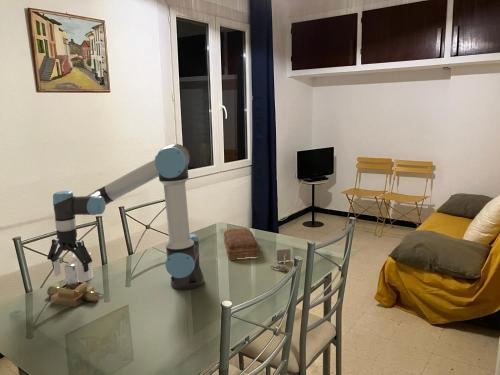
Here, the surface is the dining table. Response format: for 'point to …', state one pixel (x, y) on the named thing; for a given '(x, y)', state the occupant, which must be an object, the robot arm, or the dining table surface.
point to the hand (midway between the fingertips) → (71, 276)
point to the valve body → (72, 294)
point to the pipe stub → (71, 275)
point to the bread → (240, 243)
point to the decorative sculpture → (283, 258)
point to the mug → (76, 260)
